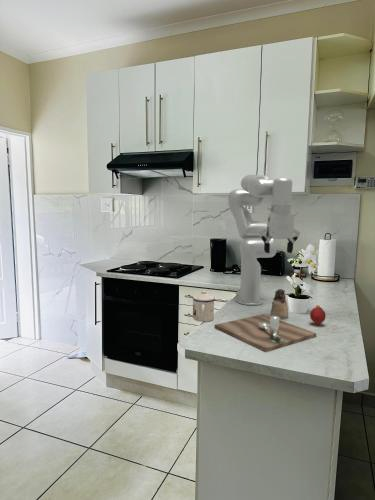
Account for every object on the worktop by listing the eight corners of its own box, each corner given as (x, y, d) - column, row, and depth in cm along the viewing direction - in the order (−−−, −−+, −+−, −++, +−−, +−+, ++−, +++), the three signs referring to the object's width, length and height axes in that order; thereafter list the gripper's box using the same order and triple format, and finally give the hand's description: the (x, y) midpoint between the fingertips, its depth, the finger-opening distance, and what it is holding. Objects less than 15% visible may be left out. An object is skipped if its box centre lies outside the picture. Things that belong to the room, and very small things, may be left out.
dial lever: (257, 325, 127) (258, 307, 126) (267, 325, 127) (268, 307, 127) (273, 341, 112) (274, 321, 111) (284, 341, 112) (285, 320, 112)
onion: (312, 321, 139) (313, 302, 138) (326, 324, 136) (328, 304, 135) (307, 324, 135) (308, 305, 134) (322, 328, 131) (323, 308, 130)
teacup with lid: (192, 314, 144) (193, 288, 143) (214, 315, 144) (215, 288, 142) (190, 324, 133) (191, 294, 131) (214, 325, 132) (214, 295, 130)
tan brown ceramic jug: (283, 313, 149) (284, 286, 148) (290, 318, 142) (292, 290, 141) (268, 314, 148) (269, 287, 146) (274, 319, 141) (276, 291, 139)
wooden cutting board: (262, 317, 143) (262, 313, 143) (316, 336, 122) (316, 332, 122) (214, 327, 129) (214, 324, 129) (265, 352, 107) (266, 347, 107)
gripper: (263, 209, 130) (261, 253, 132) (305, 210, 133) (302, 254, 135) (256, 209, 137) (254, 251, 139) (296, 210, 140) (293, 251, 142)
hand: (278, 252), depth 137 cm, fingers open, 9 cm apart
